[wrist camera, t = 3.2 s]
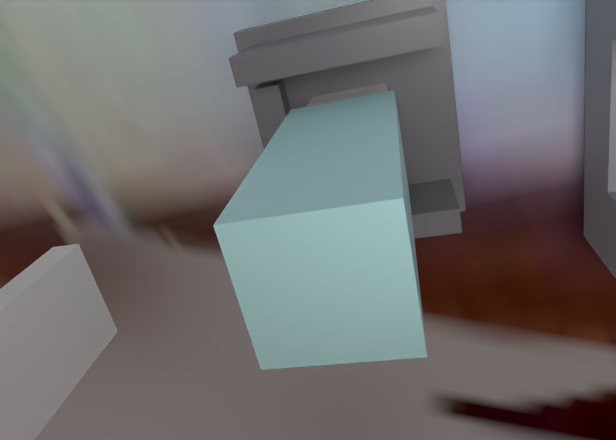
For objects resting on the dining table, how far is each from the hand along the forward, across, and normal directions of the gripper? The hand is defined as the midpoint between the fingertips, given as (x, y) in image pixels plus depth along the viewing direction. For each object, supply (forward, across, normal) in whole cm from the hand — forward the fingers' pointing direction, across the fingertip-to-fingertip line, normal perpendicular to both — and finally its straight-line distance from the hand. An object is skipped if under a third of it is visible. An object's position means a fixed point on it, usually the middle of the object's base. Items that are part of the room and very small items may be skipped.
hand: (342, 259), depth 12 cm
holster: (+11, 0, 0) cm, 11 cm away
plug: (+10, 0, 0) cm, 10 cm away
